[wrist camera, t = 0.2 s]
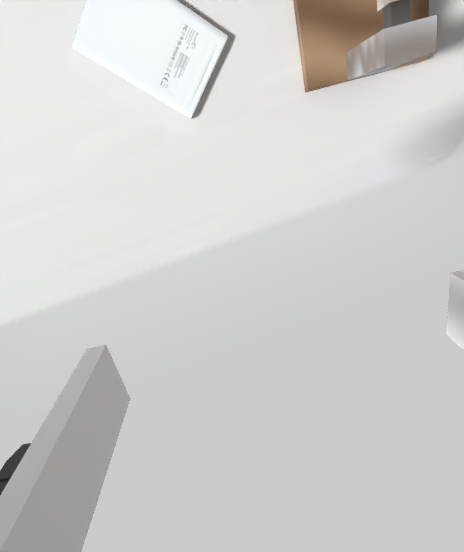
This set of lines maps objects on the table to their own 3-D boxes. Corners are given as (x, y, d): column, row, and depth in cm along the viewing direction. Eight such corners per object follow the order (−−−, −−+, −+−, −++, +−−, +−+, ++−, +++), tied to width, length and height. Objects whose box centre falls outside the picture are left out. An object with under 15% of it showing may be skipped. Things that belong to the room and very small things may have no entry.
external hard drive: (107, -43, 29) (228, 39, 32) (77, 51, 32) (191, 119, 35) (101, -53, 28) (229, 34, 31) (70, 47, 31) (190, 119, 33)
